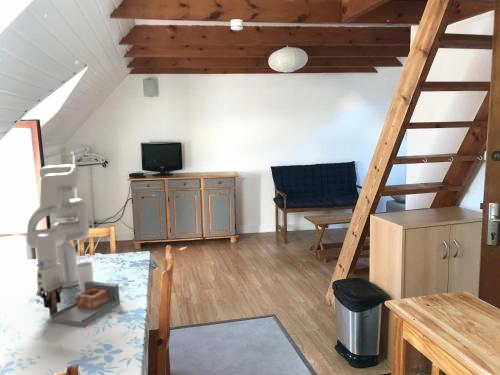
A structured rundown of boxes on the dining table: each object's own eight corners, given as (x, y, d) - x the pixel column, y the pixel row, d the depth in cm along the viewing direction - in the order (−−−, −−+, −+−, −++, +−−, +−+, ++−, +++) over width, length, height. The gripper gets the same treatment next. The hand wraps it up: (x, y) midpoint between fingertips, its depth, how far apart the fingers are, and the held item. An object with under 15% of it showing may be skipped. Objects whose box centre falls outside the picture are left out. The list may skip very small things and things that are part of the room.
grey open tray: (52, 322, 165) (49, 300, 164) (90, 300, 186) (88, 281, 184) (84, 327, 160) (82, 305, 159) (119, 304, 180) (118, 284, 179)
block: (77, 307, 173) (76, 295, 173) (92, 298, 182) (91, 287, 181) (95, 309, 170) (93, 297, 170) (109, 300, 179) (108, 289, 178)
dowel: (48, 314, 173) (45, 286, 171) (53, 311, 175) (50, 284, 174) (53, 315, 172) (50, 287, 170) (59, 312, 174) (56, 284, 173)
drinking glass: (89, 299, 187) (86, 267, 185) (76, 298, 188) (72, 266, 186) (97, 293, 194) (95, 262, 192) (84, 292, 195) (81, 262, 193)
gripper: (38, 270, 161) (43, 314, 164) (70, 257, 177) (74, 297, 180) (24, 268, 164) (29, 312, 166) (56, 256, 180) (60, 296, 182)
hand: (52, 304), depth 173 cm, fingers open, 4 cm apart
